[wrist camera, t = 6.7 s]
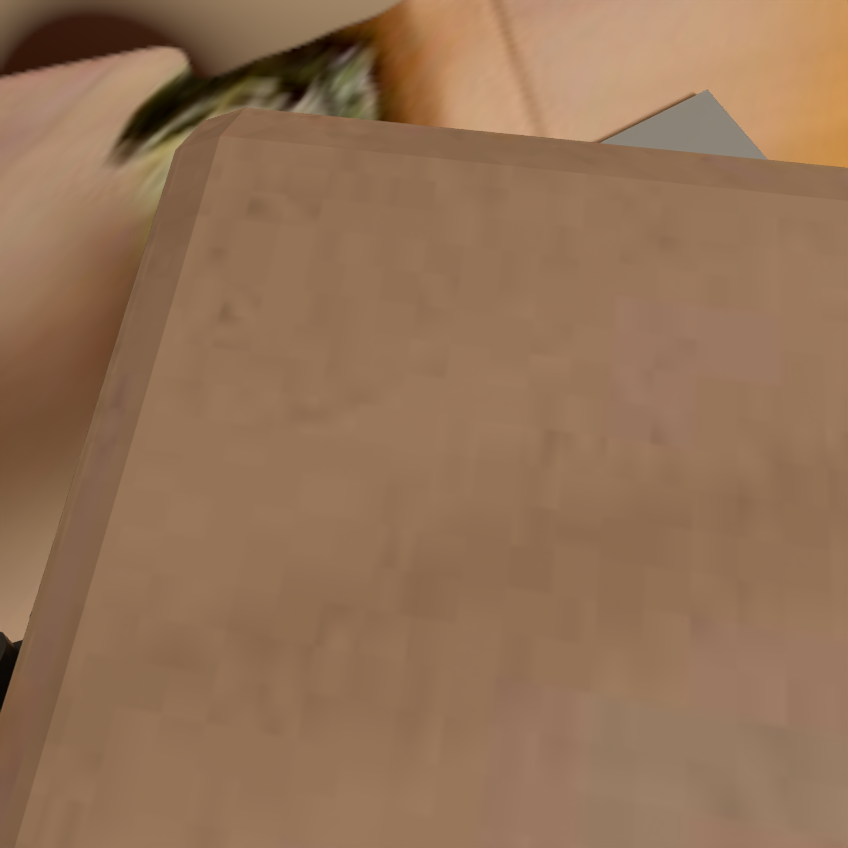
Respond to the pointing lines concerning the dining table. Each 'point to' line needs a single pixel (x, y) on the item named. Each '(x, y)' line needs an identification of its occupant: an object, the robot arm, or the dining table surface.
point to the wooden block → (454, 507)
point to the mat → (691, 130)
